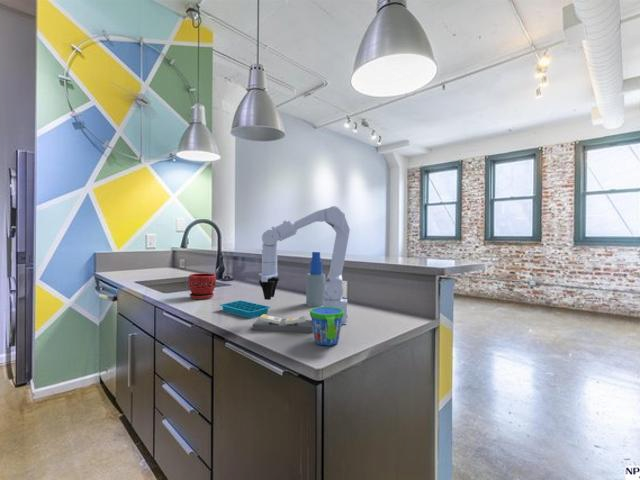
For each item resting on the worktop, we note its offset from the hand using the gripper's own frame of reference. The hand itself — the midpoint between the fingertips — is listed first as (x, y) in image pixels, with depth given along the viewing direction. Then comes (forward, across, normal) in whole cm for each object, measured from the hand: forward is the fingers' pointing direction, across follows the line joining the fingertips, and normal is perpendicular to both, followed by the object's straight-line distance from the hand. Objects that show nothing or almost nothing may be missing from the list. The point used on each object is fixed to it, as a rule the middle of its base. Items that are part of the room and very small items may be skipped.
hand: (269, 298), depth 118 cm
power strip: (+9, +5, +7) cm, 13 cm away
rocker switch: (+6, +7, +12) cm, 15 cm away
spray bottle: (+10, -33, +14) cm, 37 cm away
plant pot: (+10, -38, -46) cm, 60 cm away
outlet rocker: (+6, +7, +2) cm, 9 cm away
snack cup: (+10, +17, +23) cm, 31 cm away
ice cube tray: (+10, -14, -14) cm, 22 cm away
